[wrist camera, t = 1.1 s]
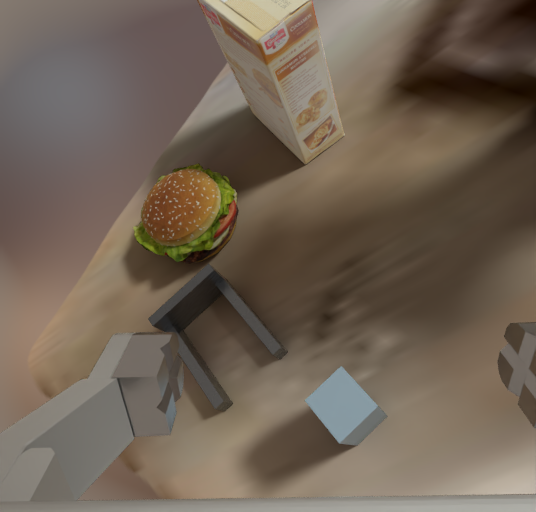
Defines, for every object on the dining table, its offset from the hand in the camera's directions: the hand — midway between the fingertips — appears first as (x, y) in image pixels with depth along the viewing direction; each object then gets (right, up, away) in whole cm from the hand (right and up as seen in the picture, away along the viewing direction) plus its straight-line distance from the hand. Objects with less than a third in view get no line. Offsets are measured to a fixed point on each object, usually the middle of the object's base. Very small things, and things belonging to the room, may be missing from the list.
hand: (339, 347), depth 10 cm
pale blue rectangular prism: (+7, -13, +29) cm, 33 cm away
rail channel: (-6, -8, +37) cm, 38 cm away
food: (-12, +6, +47) cm, 48 cm away
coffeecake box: (+2, +21, +49) cm, 53 cm away
